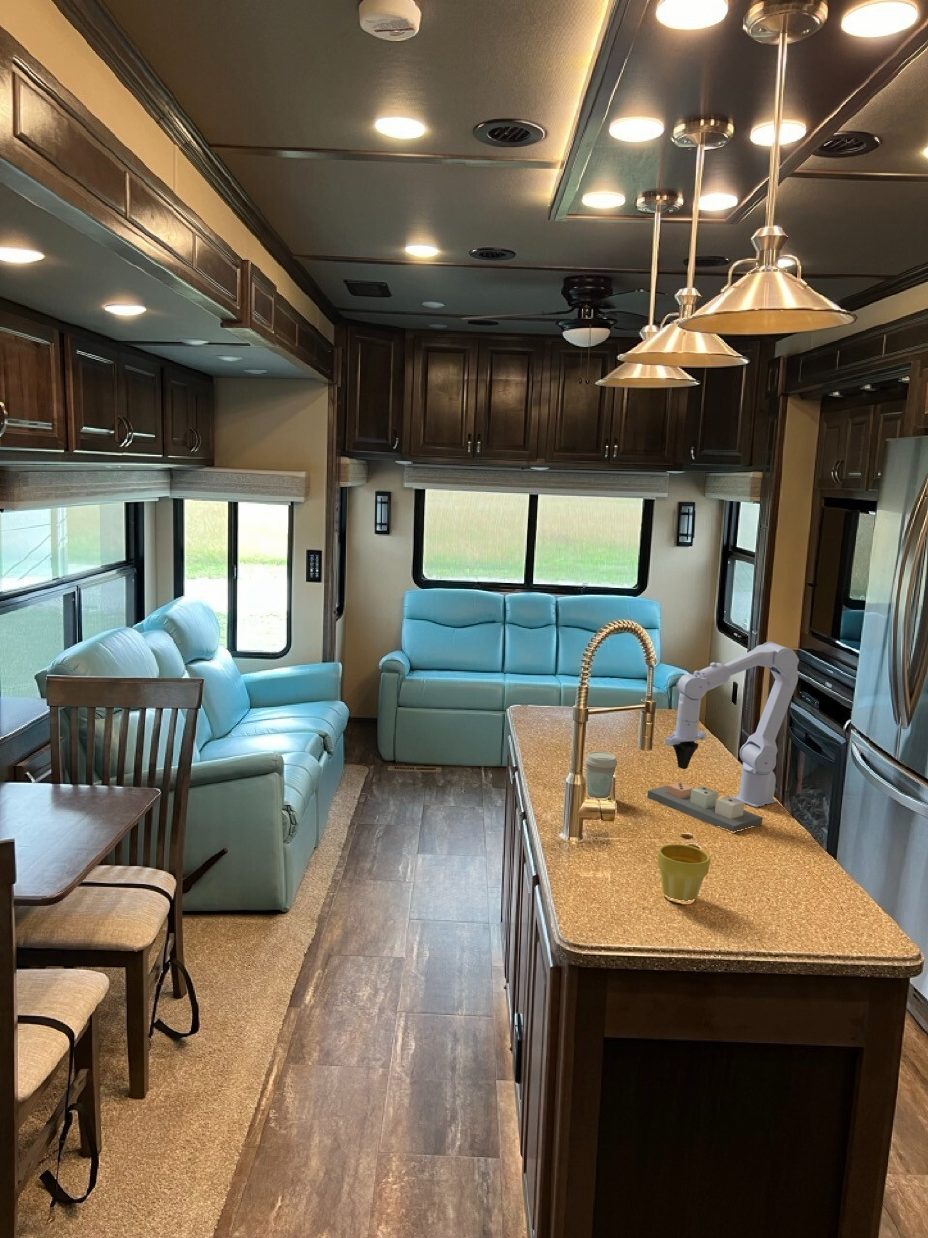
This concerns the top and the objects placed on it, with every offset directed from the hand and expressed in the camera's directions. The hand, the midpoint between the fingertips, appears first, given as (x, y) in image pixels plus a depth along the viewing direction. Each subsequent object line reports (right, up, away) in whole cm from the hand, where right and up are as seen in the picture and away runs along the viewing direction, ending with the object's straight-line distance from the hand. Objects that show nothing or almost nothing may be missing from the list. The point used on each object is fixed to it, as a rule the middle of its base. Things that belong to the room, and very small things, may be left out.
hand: (682, 768), depth 244 cm
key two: (+4, -9, -5) cm, 11 cm away
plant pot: (-14, -18, -56) cm, 60 cm away
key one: (+9, -10, -11) cm, 18 cm away
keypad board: (+4, -11, -5) cm, 12 cm away
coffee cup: (-23, -8, -1) cm, 24 cm away
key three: (-1, -9, +2) cm, 9 cm away
